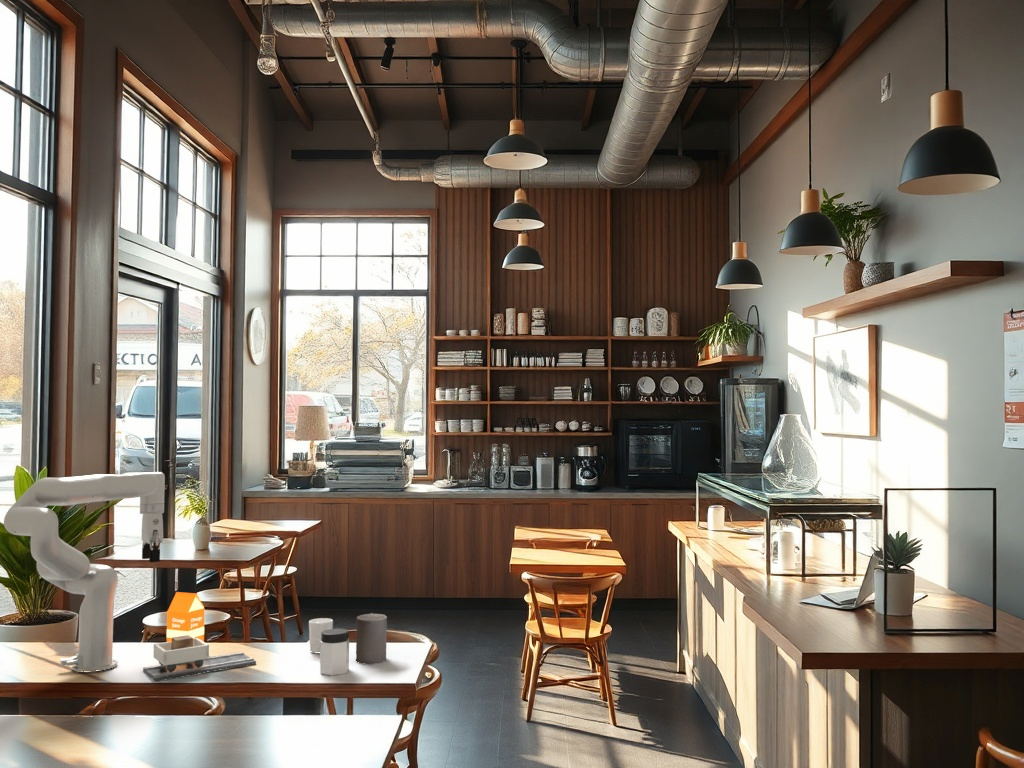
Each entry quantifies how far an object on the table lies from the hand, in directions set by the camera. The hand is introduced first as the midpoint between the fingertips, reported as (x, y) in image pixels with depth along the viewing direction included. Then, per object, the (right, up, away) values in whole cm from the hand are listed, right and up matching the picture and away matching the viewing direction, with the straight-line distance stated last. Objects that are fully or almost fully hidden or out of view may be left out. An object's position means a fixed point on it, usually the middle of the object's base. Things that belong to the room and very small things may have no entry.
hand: (150, 560), depth 278 cm
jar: (+67, -28, -26) cm, 78 cm away
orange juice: (+13, -30, -5) cm, 33 cm away
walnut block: (+20, -24, -24) cm, 39 cm away
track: (+25, -29, -21) cm, 43 cm away
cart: (+20, -27, -25) cm, 42 cm away
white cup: (+57, -30, -2) cm, 65 cm away
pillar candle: (+76, -29, -14) cm, 83 cm away
